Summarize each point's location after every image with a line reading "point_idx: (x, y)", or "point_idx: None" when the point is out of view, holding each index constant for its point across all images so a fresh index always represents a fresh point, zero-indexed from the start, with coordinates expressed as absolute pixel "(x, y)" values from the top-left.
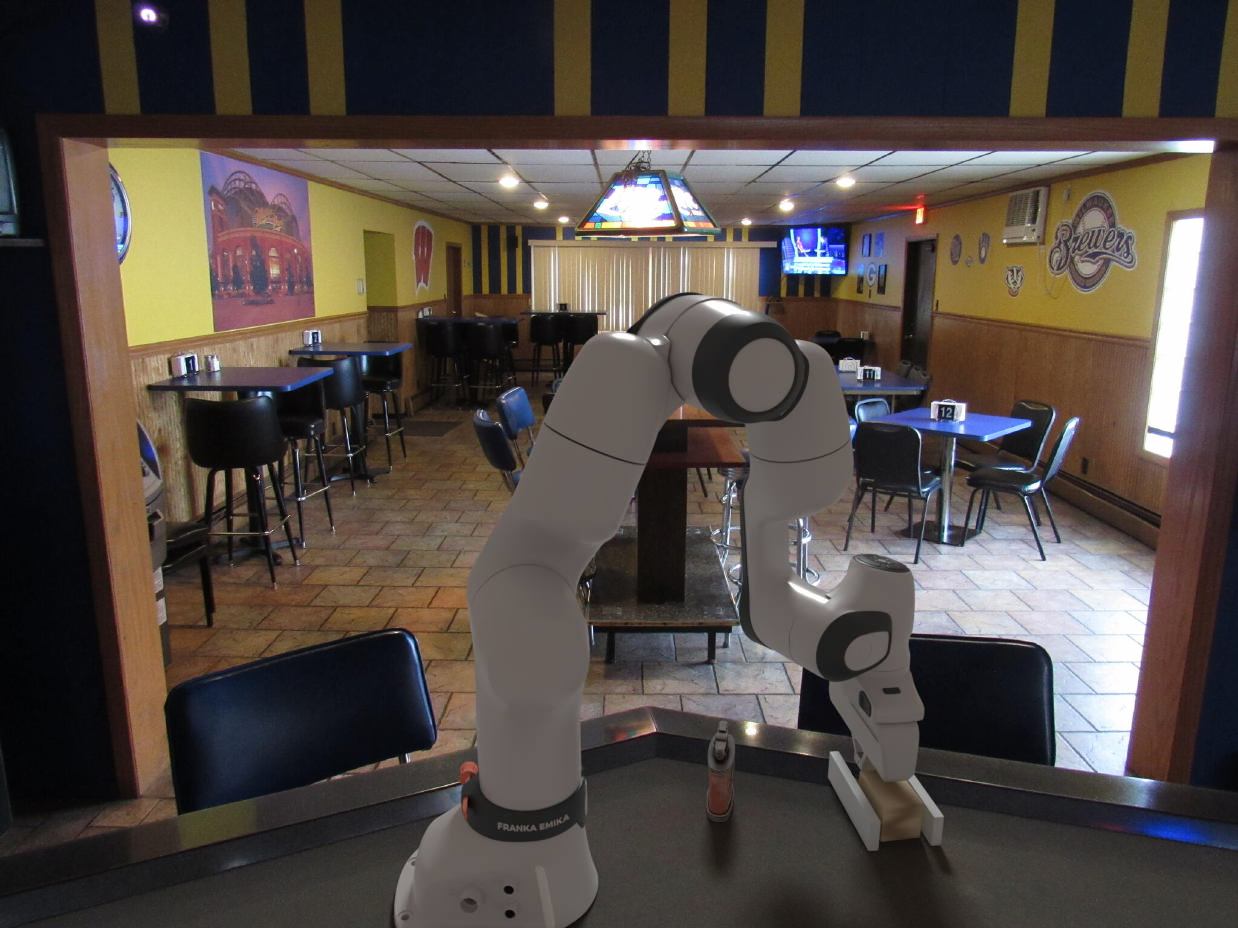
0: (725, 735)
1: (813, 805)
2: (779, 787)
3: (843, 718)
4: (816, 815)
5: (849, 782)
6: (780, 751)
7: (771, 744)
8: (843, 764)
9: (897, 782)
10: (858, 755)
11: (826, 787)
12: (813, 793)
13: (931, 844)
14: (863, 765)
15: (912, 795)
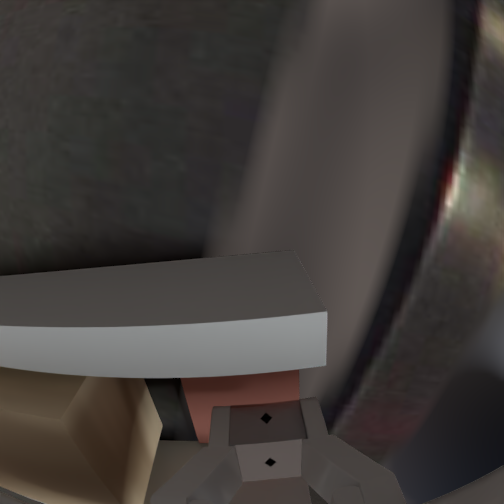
0: None
1: (102, 141)
2: (229, 18)
3: (489, 486)
4: (51, 146)
5: (19, 334)
6: (466, 101)
7: (496, 87)
8: (175, 361)
9: (46, 489)
10: (278, 441)
11: (222, 225)
12: (179, 155)
13: None
14: (210, 436)
15: (5, 482)
